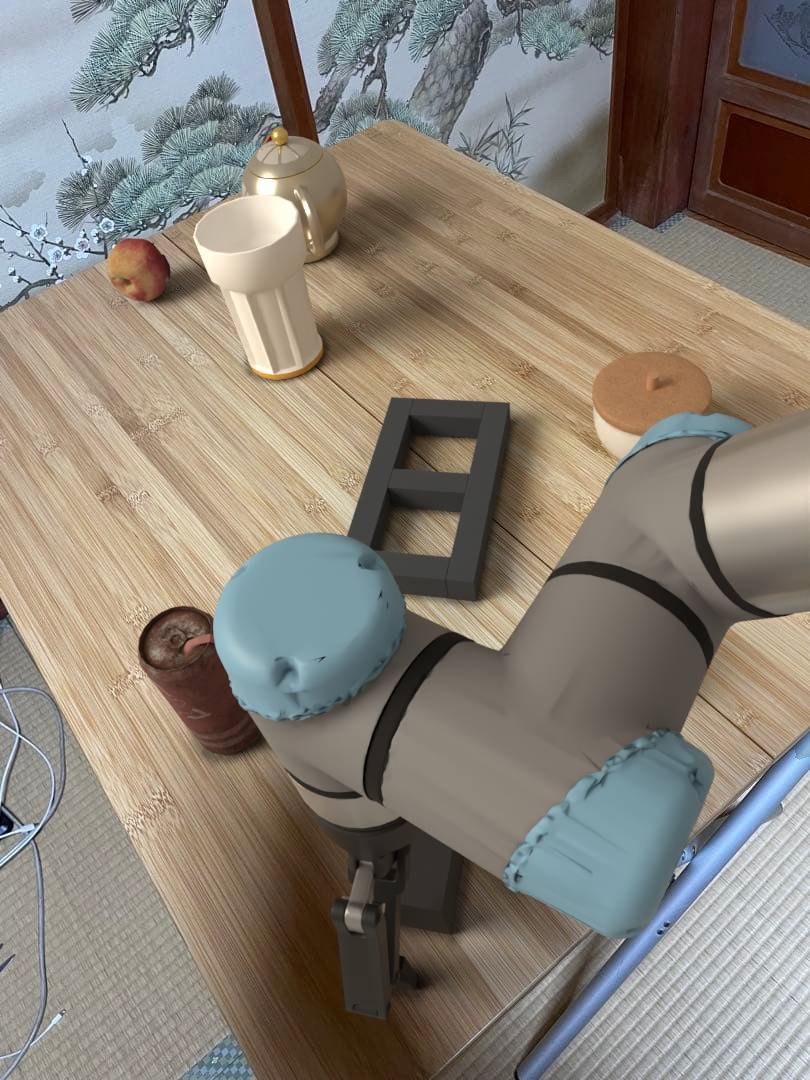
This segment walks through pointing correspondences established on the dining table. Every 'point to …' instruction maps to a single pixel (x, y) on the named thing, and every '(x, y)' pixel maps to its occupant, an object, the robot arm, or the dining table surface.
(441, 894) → the dark grey cube
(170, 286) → the dining table surface
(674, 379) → the trinket box
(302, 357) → the cup
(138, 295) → the fruit
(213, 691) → the can
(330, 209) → the teapot
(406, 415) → the base frame
